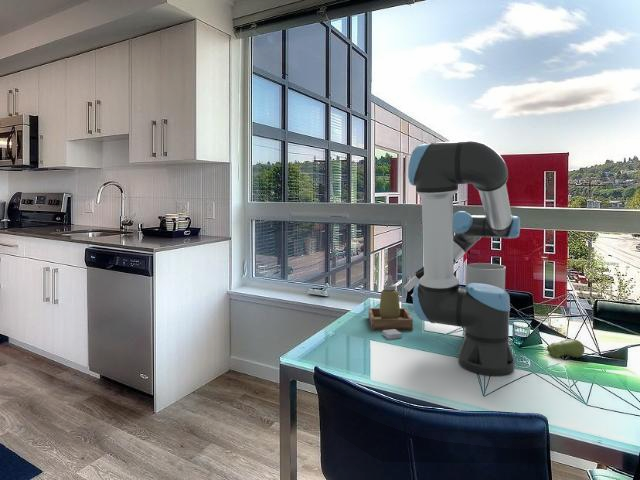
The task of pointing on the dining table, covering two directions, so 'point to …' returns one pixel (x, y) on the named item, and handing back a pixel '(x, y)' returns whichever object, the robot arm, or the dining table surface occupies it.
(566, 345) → the pear
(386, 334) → the grey flat block
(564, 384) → the dining table surface
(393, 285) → the squeeze bottle
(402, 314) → the tray
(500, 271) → the cylinder vase
